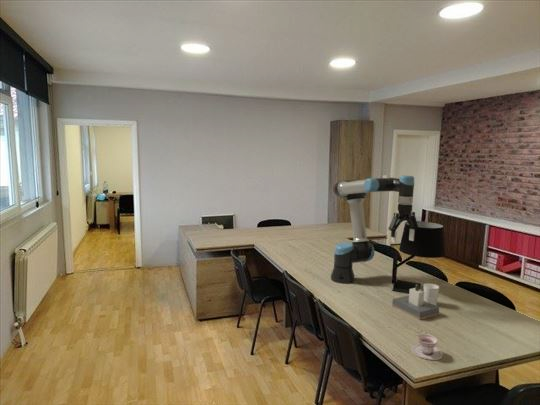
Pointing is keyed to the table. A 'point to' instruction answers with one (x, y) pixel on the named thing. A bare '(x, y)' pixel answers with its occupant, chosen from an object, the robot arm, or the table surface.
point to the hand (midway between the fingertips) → (402, 241)
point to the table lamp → (418, 249)
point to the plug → (416, 296)
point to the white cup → (431, 293)
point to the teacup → (427, 347)
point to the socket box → (415, 308)
